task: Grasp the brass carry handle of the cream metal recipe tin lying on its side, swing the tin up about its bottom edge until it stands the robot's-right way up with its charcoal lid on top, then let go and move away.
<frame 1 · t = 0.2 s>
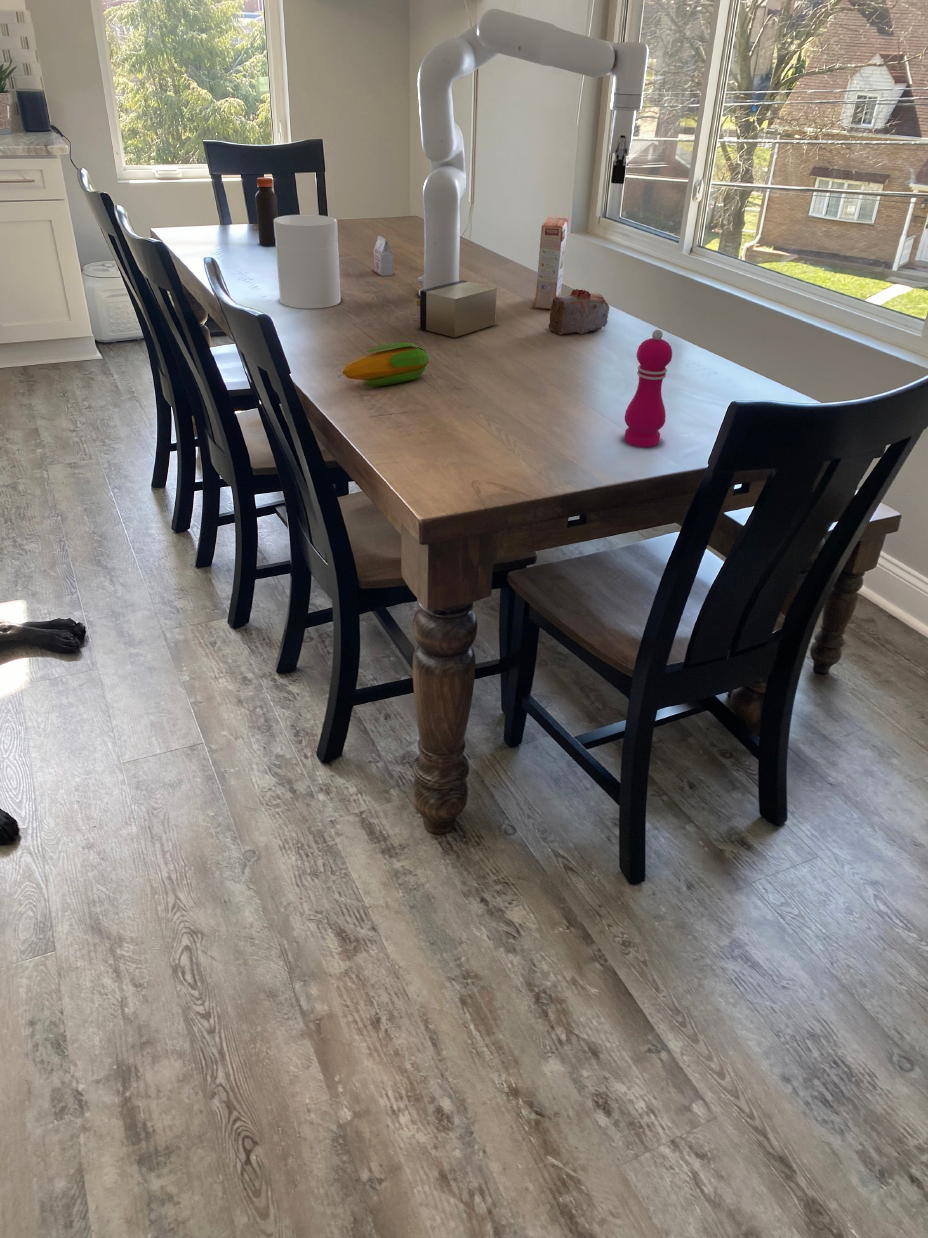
hand: (617, 180, 225), 31 cm above the table, tool pointing down, fingers open, 9 cm apart
milk carton: (383, 273, 268), on the table
recipe tin: (450, 305, 219), point 5 cm above the table, hinge at -0.1°
canister: (310, 301, 238), on the table
food item: (577, 331, 222), on the table
pepper mill: (641, 442, 162), on the table
corn: (387, 383, 185), on the table
cracker box: (548, 304, 243), on the table
bottle: (270, 245, 297), on the table
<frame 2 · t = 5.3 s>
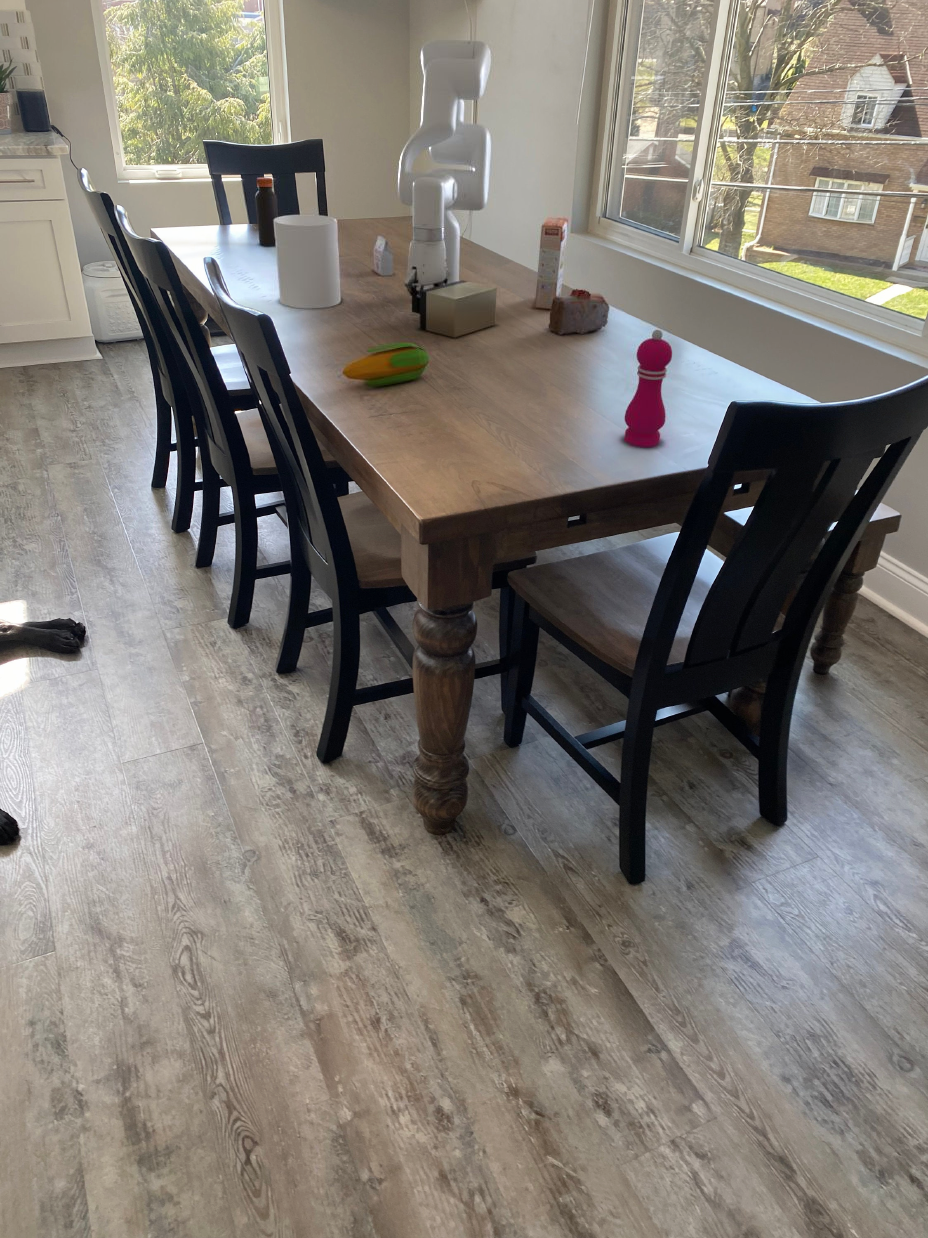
hand: (427, 309, 224), 2 cm above the table, tool pointing down, fingers closed on recipe tin, 7 cm apart
recipe tin: (450, 305, 219), point 5 cm above the table, hinge at -0.2°, touching gripper
everything else where it was.
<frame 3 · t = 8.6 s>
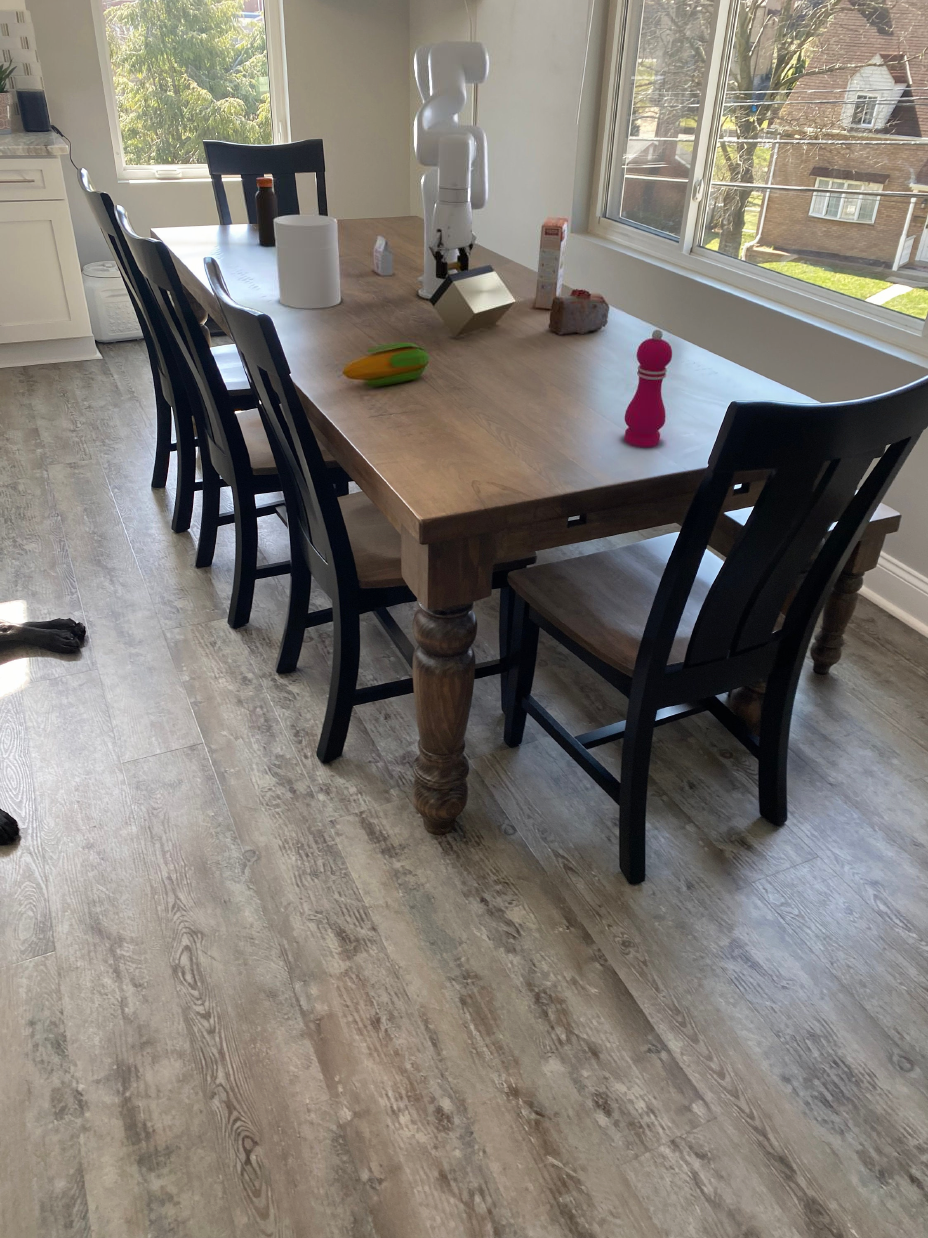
hand: (452, 275, 215), 12 cm above the table, tool pointing down, fingers closed on recipe tin, 7 cm apart
recipe tin: (466, 291, 214), point 9 cm above the table, hinge at 41.3°, touching gripper
everything else where it was.
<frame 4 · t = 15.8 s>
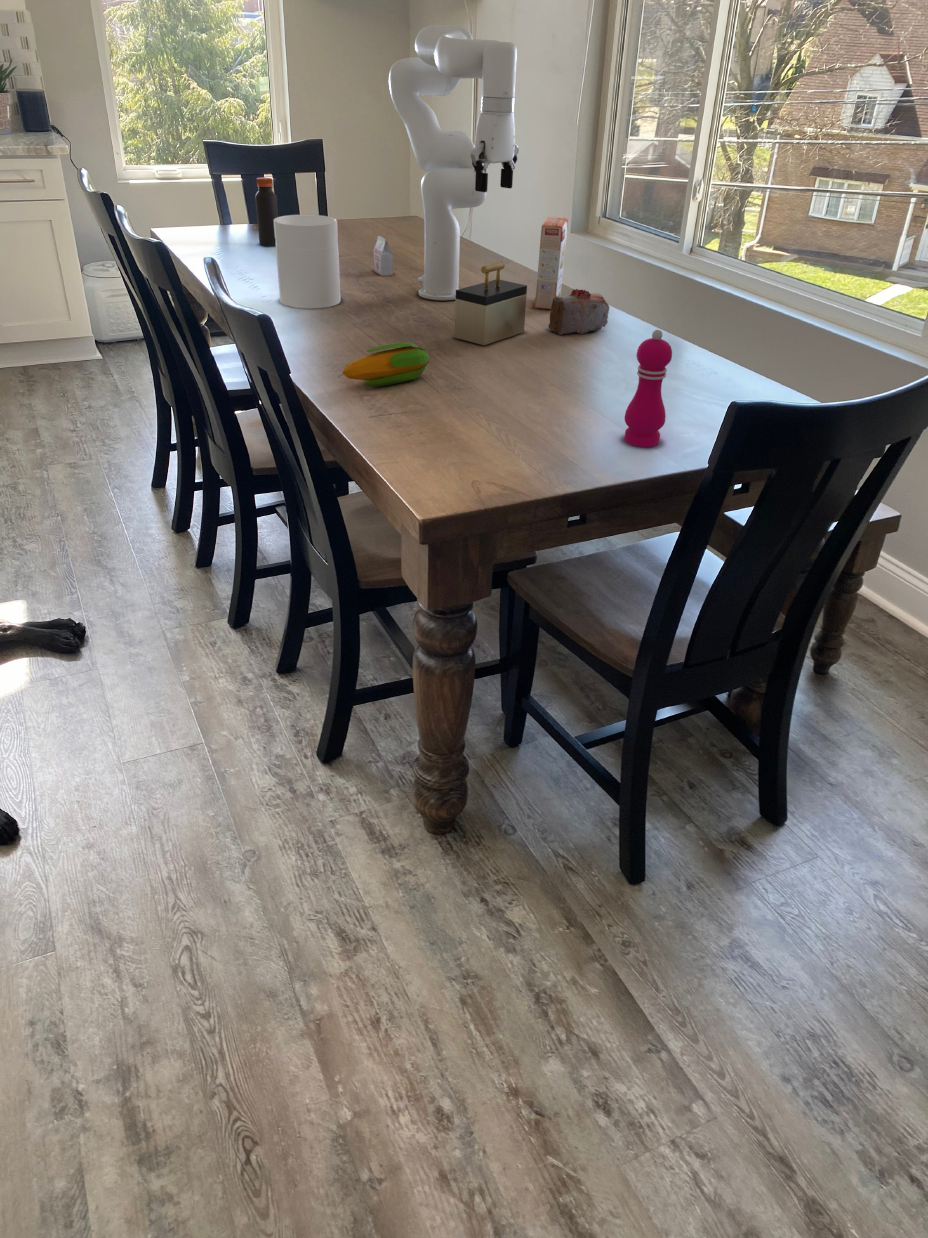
hand: (493, 189, 211), 30 cm above the table, tool pointing down, fingers open, 9 cm apart
recipe tin: (491, 299, 211), point 8 cm above the table, hinge at 90.1°
everything else where it was.
at the end: recipe tin at +90° (first picture: +0°); the gripper is holding nothing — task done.
